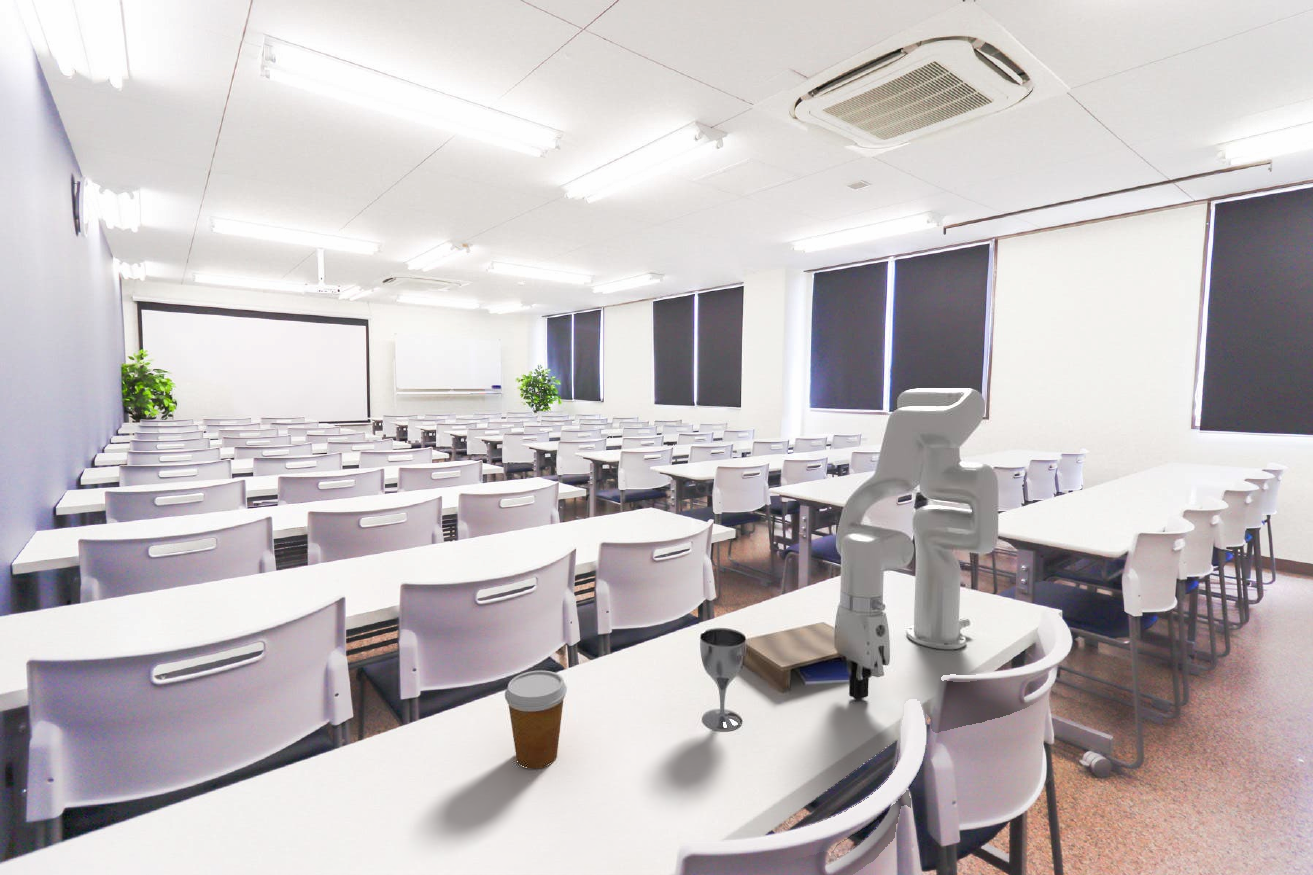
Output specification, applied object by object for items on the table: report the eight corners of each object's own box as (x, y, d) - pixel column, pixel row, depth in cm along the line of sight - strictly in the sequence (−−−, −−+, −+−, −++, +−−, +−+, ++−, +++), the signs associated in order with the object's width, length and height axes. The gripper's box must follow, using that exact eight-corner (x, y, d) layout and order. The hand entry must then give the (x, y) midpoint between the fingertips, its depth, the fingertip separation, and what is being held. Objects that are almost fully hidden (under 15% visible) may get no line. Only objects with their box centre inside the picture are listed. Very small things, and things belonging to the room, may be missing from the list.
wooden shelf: (822, 642, 135) (823, 621, 135) (869, 668, 122) (869, 644, 122) (740, 662, 125) (740, 640, 124) (781, 692, 112) (782, 667, 112)
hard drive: (805, 679, 116) (865, 676, 117) (792, 660, 124) (848, 658, 125) (805, 686, 116) (865, 684, 117) (792, 667, 124) (848, 665, 125)
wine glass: (715, 737, 97) (716, 650, 96) (691, 714, 104) (691, 632, 103) (754, 725, 101) (755, 640, 100) (728, 703, 108) (728, 624, 107)
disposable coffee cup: (538, 784, 85) (537, 705, 85) (492, 762, 91) (491, 687, 90) (579, 751, 94) (579, 678, 93) (536, 732, 99) (535, 664, 98)
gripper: (908, 611, 103) (905, 711, 105) (847, 586, 117) (845, 675, 118) (877, 617, 100) (874, 720, 101) (818, 591, 114) (816, 682, 115)
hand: (858, 696), depth 110 cm, fingers closed
